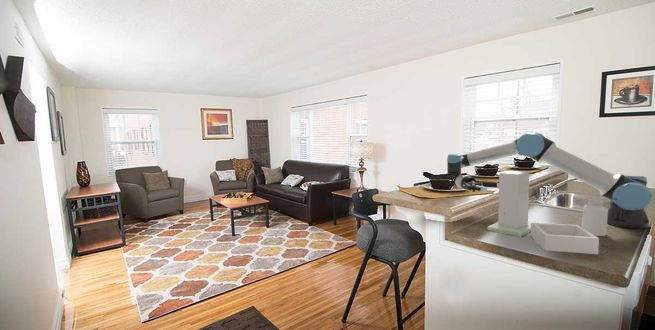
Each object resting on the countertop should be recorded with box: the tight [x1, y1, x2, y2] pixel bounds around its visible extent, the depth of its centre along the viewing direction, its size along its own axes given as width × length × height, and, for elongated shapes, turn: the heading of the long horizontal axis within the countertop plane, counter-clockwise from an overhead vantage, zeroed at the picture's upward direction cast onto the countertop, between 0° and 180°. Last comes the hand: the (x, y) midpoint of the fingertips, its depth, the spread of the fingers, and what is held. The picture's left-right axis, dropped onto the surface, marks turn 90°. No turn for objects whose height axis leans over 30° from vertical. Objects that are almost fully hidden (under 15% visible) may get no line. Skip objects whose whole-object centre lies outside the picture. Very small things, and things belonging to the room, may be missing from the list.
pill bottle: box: [581, 198, 608, 237], centre depth 128 cm, size 8×8×15 cm
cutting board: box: [487, 220, 538, 238], centre depth 140 cm, size 22×14×2 cm, turn 128°
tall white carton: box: [497, 170, 530, 229], centre depth 138 cm, size 9×9×25 cm
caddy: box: [530, 222, 600, 255], centre depth 118 cm, size 16×16×6 cm
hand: (497, 188), depth 147 cm, fingers open, 13 cm apart
